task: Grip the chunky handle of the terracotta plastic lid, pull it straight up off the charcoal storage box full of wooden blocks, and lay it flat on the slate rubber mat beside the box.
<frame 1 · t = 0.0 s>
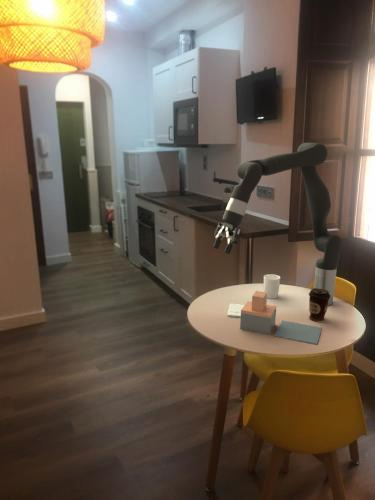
hand: (221, 250, 162), 31 cm above the table, tool tilted 20°, fingers open, 8 cm apart
white cup: (270, 296, 201), on the table
external hard drive: (237, 313, 183), on the table
lid: (258, 313, 167), point 6 cm above the table, touching storage box
mat: (298, 332, 164), on the table
coffee cup: (316, 319, 176), on the table
storage box: (257, 326, 168), on the table
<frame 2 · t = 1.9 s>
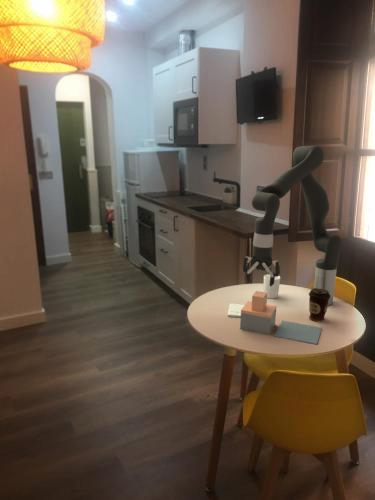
hand: (260, 283, 163), 19 cm above the table, tool pointing down, fingers open, 8 cm apart
nothing on the table moved.
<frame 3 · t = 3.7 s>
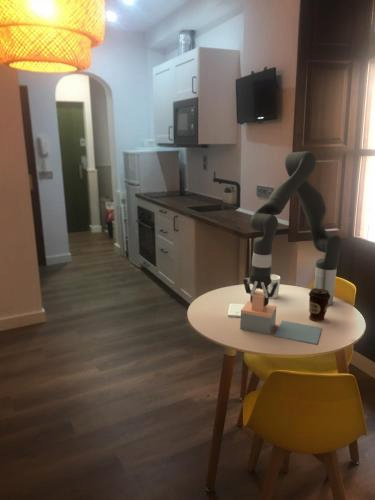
hand: (259, 304, 166), 10 cm above the table, tool pointing down, fingers closed on lid, 4 cm apart
lid: (258, 313, 167), point 6 cm above the table, touching gripper
everything else where it was.
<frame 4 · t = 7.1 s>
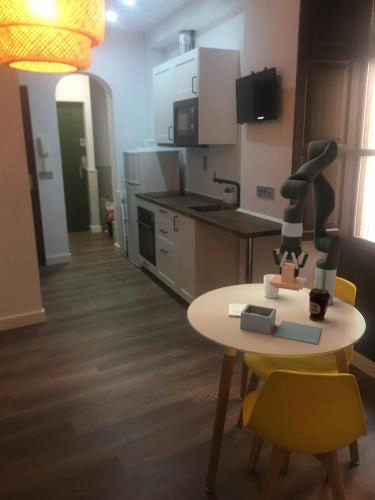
hand: (288, 276, 160), 23 cm above the table, tool pointing down, fingers closed on lid, 4 cm apart
lid: (288, 286, 161), point 19 cm above the table, touching gripper
everything else where it was.
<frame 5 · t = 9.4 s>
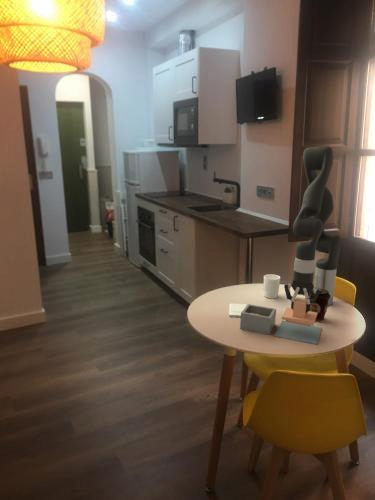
hand: (300, 310, 161), 9 cm above the table, tool pointing down, fingers closed on lid, 4 cm apart
lid: (299, 320, 162), point 5 cm above the table, touching gripper
everything else where it was.
when the fingers open (6 cm above the table, at t = 10.9 s): lid drops 1 cm, resting on mat.
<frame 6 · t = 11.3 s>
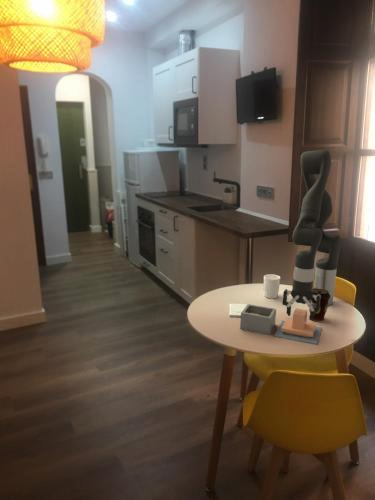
hand: (299, 317, 162), 7 cm above the table, tool pointing down, fingers open, 8 cm apart
lid: (298, 331, 164), resting on mat
everything else where it was.
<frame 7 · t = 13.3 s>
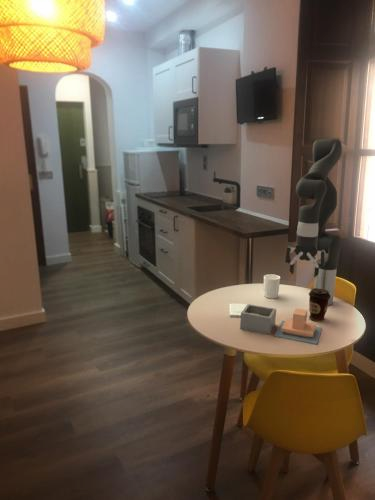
hand: (303, 274, 158), 24 cm above the table, tool pointing down, fingers open, 8 cm apart
nothing on the table moved.
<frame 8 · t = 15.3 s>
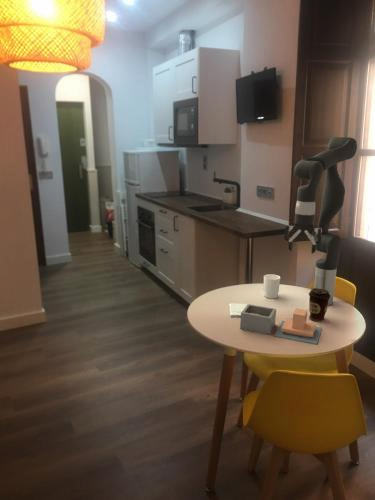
hand: (301, 251, 167), 30 cm above the table, tool pointing down, fingers open, 8 cm apart
nothing on the table moved.
at the end: lid inside the target area on the mat (0.0 cm from its centre), point 0.4 cm above the mat's base; lid tilted 0°; the gripper is holding nothing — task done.
